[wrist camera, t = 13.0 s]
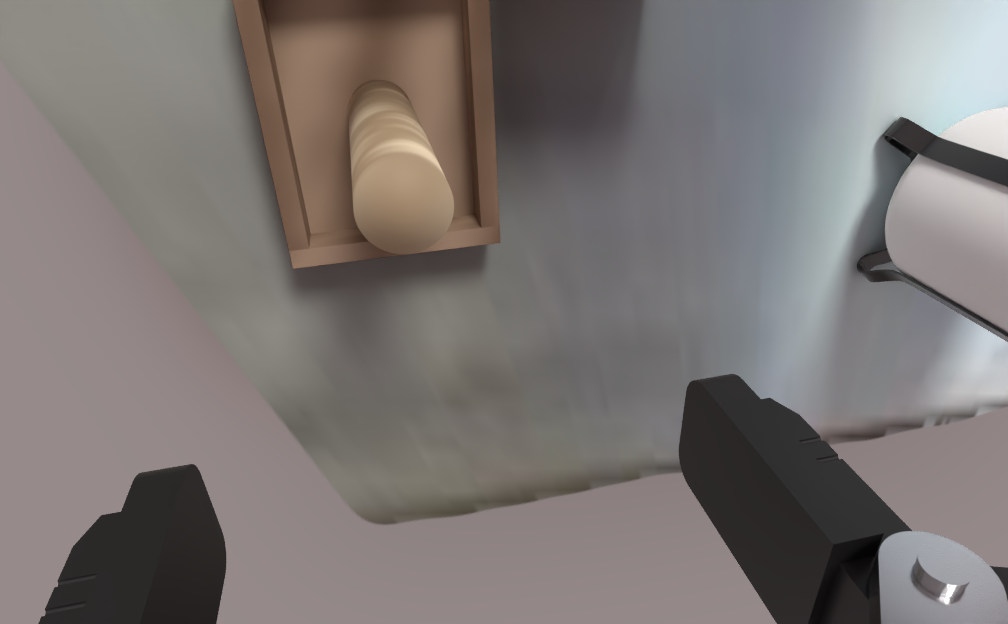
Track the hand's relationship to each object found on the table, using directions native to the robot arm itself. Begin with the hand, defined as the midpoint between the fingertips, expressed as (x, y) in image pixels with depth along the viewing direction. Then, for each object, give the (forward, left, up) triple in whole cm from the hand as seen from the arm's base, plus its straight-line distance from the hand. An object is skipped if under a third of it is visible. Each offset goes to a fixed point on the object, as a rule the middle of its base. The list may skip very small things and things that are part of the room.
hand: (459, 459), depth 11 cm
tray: (0, 0, -27) cm, 27 cm away
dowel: (0, 0, -26) cm, 26 cm away
